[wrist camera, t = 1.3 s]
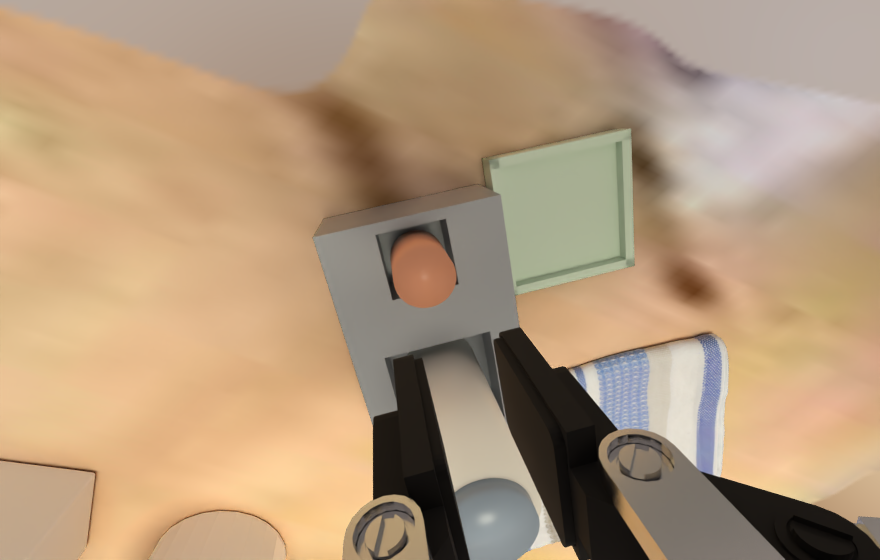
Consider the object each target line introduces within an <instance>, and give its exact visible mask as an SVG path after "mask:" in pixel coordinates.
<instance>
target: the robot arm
mask: <svg viewBox="0 0 880 560" xmlns="http://www.w3.org/2000/svg"><path fill="white" fill-rule="evenodd" d="M493 344H494V350H495V356H496V362H497V368H498V373H499V379H500V385H501V391H502V397H503V403H504V409H505V414H506V420H507V424H508V427H509V430H510V433H511V435H512V437H513V439H514V441H515V444H516V446H517V448H518V450H519V452H520V454H521V456H522V459H523V461H524V463H525V465H526V467H527V469H528V472H529V474H530V476H531V478H532V480H533V482H534V485H535V487H536V489H537V491H538V493H539V495H540V498H541V500H542V502H543V504H544V506H545V508H546V510H547V513H548V515H549V517H550V519H551V521H552V523H553V526H554V528H555V530H556V532H557V534H558V536H559V539H560V541H561V543H562V545H563V546H564V547H568V546H573V549H574V551H575V553H576V555H577V557H578V559H579V560H589V559H590V560H880V518H874V517H858V521H857V524H855V523H851V522H850V521H848V520H846V519H845V518H843V517H841V516H839V515H838V514H836V513H833V512H831V511H828V510H826V509H823V508H821V507H818V506H816V505H812V504H809V503H805V502H802V501H799V500H795V499H792V498H789V497H785V496H782V495H779V494H775V493H772V492H768V491H765V490H762V489H758V488H755V487H752V486H748V485H745V484H742V483H738V482H735V481H731V480H728V479H725V478H721V477H718V476H715V475H711V474H708V473H705V472H701V471H699V470H698V469H697V468H696V467H695V466H694V465H693V464H692V463H691V461H690V460H689V459H688V458H687V457H686V456H685V455H684V454H683V453H682V452H681V451H680V450H679V449H678V448H677V447H676V446H675V445H674V444H672V443H671V442H670V441H669V440H667V439H666V438H664V437H662V436H660V435H658V434H656V433H654V432H650V431H647V430H643V429H631V428H629V429H622V430H618V429H617V428H616V427H615V425H614V424H613V423H612V422H611V421H610V419H609V418H608V417H607V416H606V415H605V413H604V412H603V411H602V410H601V408H600V407H599V406H598V405H597V404H596V402H595V401H594V400H593V399H592V398H591V396H590V395H589V394H588V393H587V392H586V390H585V389H584V388H583V387H582V386H581V384H580V383H579V382H578V381H577V380H576V378H575V377H574V376H573V375H572V374H571V372H570V371H569V370H568V369H567V368H566V367H563V366H562V367H558V368H555V369H552V368H551V367H550V365H549V364H548V363H547V362H546V360H545V359H544V358H543V356H542V355H541V354H540V352H539V351H538V350H537V349H536V347H535V346H534V345H533V343H532V342H531V341H530V339H529V338H528V337H527V336H526V334H525V333H524V332H523V330H522V329H521V328H520V327H518V328H514V329H510V330H506V331H502V332H500V333H499V338H496V339H494V340H493ZM393 366H394V377H395V388H396V399H397V410H396V411H392V412H389V413H385V414H381V415H377V416H374V418H373V501H371V502H369V503H368V504H366V505H365V506H364V507H362V508H361V509H360V510H359V511H358V512H357V514H356V515H355V516H354V517H353V518H352V520H351V522H350V524H349V525H348V527H347V529H346V533H345V538H344V544H343V560H470V557H469V553H468V549H467V544H466V540H465V535H464V531H463V527H462V522H461V518H460V514H459V509H458V505H457V501H456V496H455V492H454V488H453V483H452V479H451V475H450V470H449V466H448V461H447V457H446V453H445V448H444V444H443V440H442V436H441V432H440V428H439V424H438V420H437V416H436V412H435V408H434V403H433V399H432V395H431V391H430V387H429V383H428V379H427V375H426V371H425V367H424V363H423V359H422V358H418V359H414V356H413V354H412V355H408V356H404V357H400V358H396V359H393Z"/></svg>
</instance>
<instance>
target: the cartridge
mask: <svg viewBox="0 0 880 560" xmlns="http://www.w3.org/2000/svg"><path fill="white" fill-rule="evenodd" d="M412 354H413V356H414V359H418V358H422V359H423V363H424V367H425V371H426V375H427V379H428V383H429V387H430V391H431V395H432V399H433V403H434V408H435V412H436V416H437V420H438V424H439V428H440V432H441V436H442V440H443V444H444V448H445V453H446V457H447V461H448V466H449V470H450V475H451V479H452V483H453V488H454V492H455V496H456V501H457V505H458V509H459V514H460V518H461V522H462V527H463V531H464V535H465V540H466V544H467V549H468V553H469V557H470V560H517V559H518V558H520V557H521V556H522V555H523V554H524V553H526V552H527V551H528V550H529V548H530V547H531V546H532V545H533V543H534V541H535V540H536V538H537V535H538V532H539V527H540V521H539V517H540V513H541V507H542V504H541V498H540V495H539V493H538V491H537V489H536V487H535V485H534V482H533V480H532V478H531V476H530V474H529V472H528V469H527V467H526V465H525V463H524V461H523V459H522V456H521V454H520V452H519V450H518V448H517V446H516V444H515V441H514V439H513V437H512V435H511V433H510V430H509V427H508V425H507V423H506V421H505V418H504V416H503V414H502V412H501V410H500V408H499V406H498V403H497V401H496V399H495V397H494V395H493V393H492V391H491V388H490V386H489V384H488V382H487V380H486V378H485V375H484V373H483V371H482V369H481V367H480V365H479V363H478V360H477V358H476V356H475V354H474V352H473V350H472V348H471V346H470V344H469V343H468V342H467V341H466V340H465V339H464V338H462V339H458V340H454V341H450V342H446V343H442V344H438V345H434V346H430V347H427V348H423V349H419V350H415V351H411V352H408V355H412ZM408 355H407V356H408Z"/></svg>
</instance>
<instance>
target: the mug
mask: <svg viewBox="0 0 880 560" xmlns="http://www.w3.org/2000/svg"><path fill="white" fill-rule="evenodd" d="M148 560H286V549H285V544H284V542H283V540H282V538H281V537H280V535H279V533H278V532H277V531H276V530H275V529H274V528H272V527H271V526H270V525H269V524H268V523H267V522H265V521H263V520H261V519H259V518H257V517H255V516H252V515H248V514H245V513H241V512H234V511H214V512H207V513H201V514H198V515H195V516H193V517H190V518H187V519H184V520H182V521H181V522H179V523H177V524H176V525H174V526H173V527H171V528H170V529H169V530H168V531H167V532H166V533H165V534H164V535H163V536H162V537H161V538H160V540H159V542H158V544H157V545H156V547H155V549H154V551H153V552H152V554H151V556H150V557H149V559H148Z"/></svg>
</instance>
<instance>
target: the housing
mask: <svg viewBox="0 0 880 560" xmlns="http://www.w3.org/2000/svg"><path fill="white" fill-rule="evenodd" d="M413 230H422V231H426V232H429V233H431V234H432V235H434V236H435V237H436V238H437V239H438V240H439V242H440V243H441V245H442V246H443V248H444V250H445V251H446V253H447V254H448V256H449V258H450V259H451V261H452V262H453V264H454V267H455V270H456V284H455V287H454V290H453V291H452V293H451V294H450V296H449V297H448V298H447V299H446V300H445V301H443V302H442V303H440V304H439V305H436V306H433V307H429V308H418V307H414V306H411V305H409V304H407V303H406V302H404V301H403V300H402V299H401V298H400V297H399V295H398V294H397V292H396V290H395V287H394V282H393V275H392V268H391V261H390V252H391V248H392V246H393V244H394V242H395V241H396V240H397V239H398V238H399V237H400V236H401V235H402V234H404V233H406V232H409V231H413ZM313 240H314V243H315V246H316V249H317V253H318V256H319V259H320V262H321V265H322V268H323V271H324V274H325V278H326V281H327V284H328V287H329V290H330V293H331V296H332V299H333V303H334V306H335V309H336V312H337V315H338V318H339V321H340V324H341V328H342V331H343V334H344V337H345V340H346V343H347V346H348V349H349V353H350V356H351V359H352V362H353V365H354V368H355V371H356V374H357V378H358V381H359V384H360V387H361V390H362V393H363V396H364V399H365V403H366V406H367V409H368V412H369V415H370V418H371V421H372V424H373V418H374V416H377V415H381V414H385V413H389V412H392V411H396V410H397V399H396V388H395V377H394V366H393V359H396V358H400V357H404V356H407V355H408V352H411V351H415V350H419V349H423V348H427V347H430V346H434V345H438V344H442V343H446V342H450V341H454V340H458V339H462V338H464V339H465V340H466V341H467V342H468V343H469V344H470V346H471V348H472V350H473V352H474V354H475V356H476V358H477V360H478V363H479V365H480V367H481V369H482V371H483V373H484V375H485V378H486V380H487V382H488V384H489V386H490V388H491V391H492V393H493V395H494V397H495V399H496V401H497V403H498V406H499V408H500V410H501V412H502V414H503V416H504V418H505V421H506V423H507V420H506V414H505V409H504V403H503V397H502V391H501V385H500V379H499V373H498V368H497V362H496V356H495V350H494V344H493V340H494V339H496V338H499V333H500V332H502V331H506V330H510V329H514V328H518V327H519V320H518V313H517V306H516V299H515V292H514V285H513V278H512V271H511V264H510V257H509V250H508V243H507V235H506V228H505V221H504V214H503V207H502V200H501V195H500V194H498V193H496V192H494V191H492V190H490V189H488V188H486V187H483V186H481V185H479V184H476V185H471V186H467V187H462V188H458V189H453V190H449V191H444V192H440V193H436V194H431V195H427V196H422V197H418V198H413V199H409V200H405V201H400V202H396V203H391V204H387V205H382V206H378V207H374V208H369V209H365V210H360V211H356V212H351V213H347V214H342V215H338V216H334V217H329V218H325V219H323V221H322V222H321V224H320V226H319V228H318V229H317V231H316V233H315V234H314V236H313ZM507 425H508V424H507Z"/></svg>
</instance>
